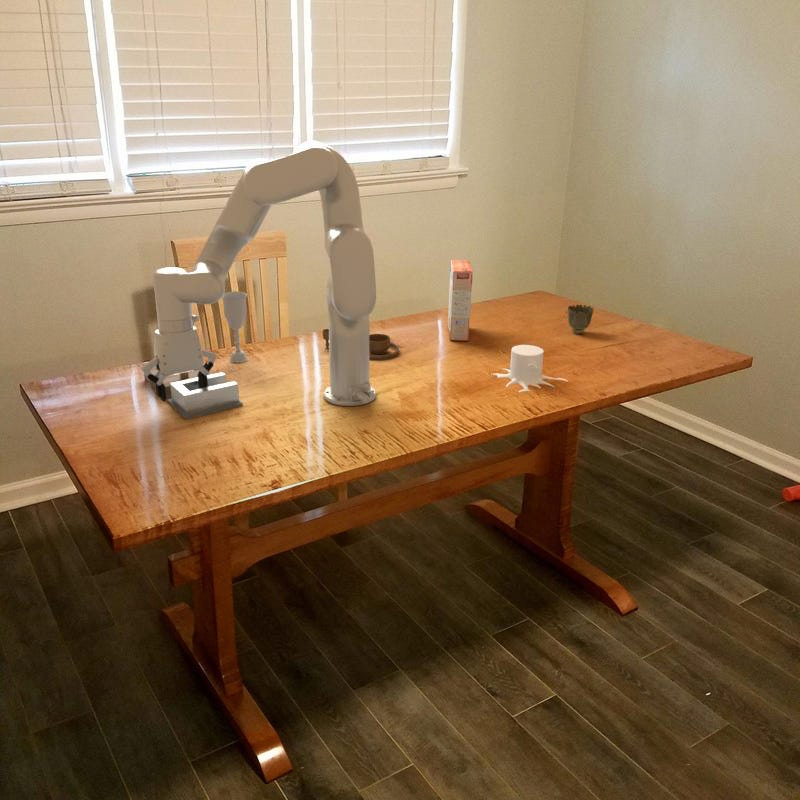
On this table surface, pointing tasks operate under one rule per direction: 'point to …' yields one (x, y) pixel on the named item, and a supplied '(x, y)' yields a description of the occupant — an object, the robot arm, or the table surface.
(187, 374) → the stand
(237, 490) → the table surface
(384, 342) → the place setting
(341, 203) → the robot arm
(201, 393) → the c link
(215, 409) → the mat
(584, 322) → the cup
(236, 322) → the chalice
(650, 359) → the table surface
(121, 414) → the table surface
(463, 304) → the cracker box
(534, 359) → the tree stump
